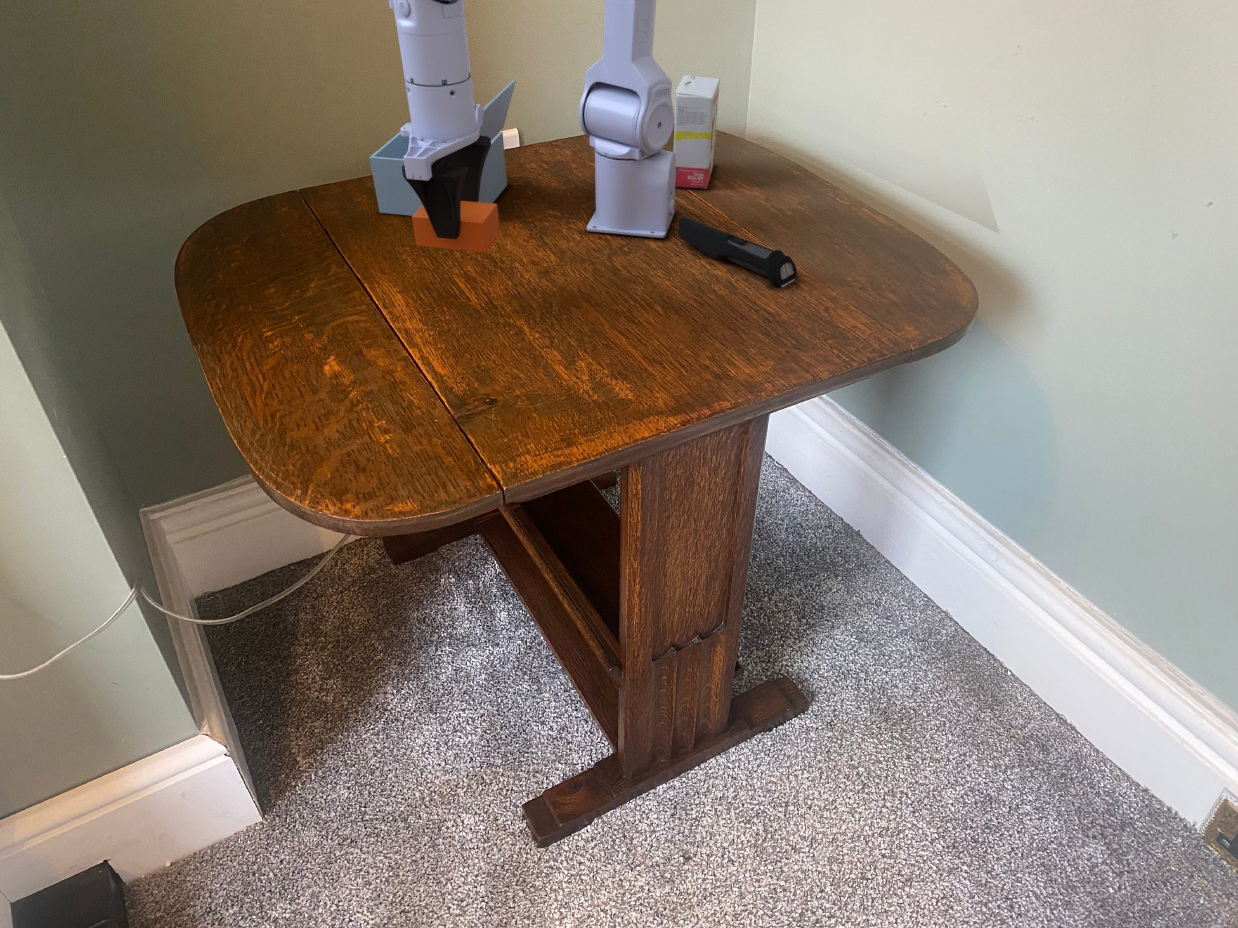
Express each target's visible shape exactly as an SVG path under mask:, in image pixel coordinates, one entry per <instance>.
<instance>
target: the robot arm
mask: <svg viewBox="0 0 1238 928" xmlns="http://www.w3.org/2000/svg"><path fill="white" fill-rule="evenodd" d="M388 4H389V5H388V6H389V9H390V10H392V12H393V14H394V18H395V19H394V20H395V25H396V31H397V38H398V44H399V51H400V57H401V64H402V71H403V72H402V73H403V78H404V84H405V90H406V97H407V103H408V110H409V118H410V122H406V123H405V124H404V125H402V126H401V127H400V130H399V131H401V136H403V137H409V138H410V139H409V147H408V152H407V153H406V155H405V156H404V157H403V159H404V165H403V166H402V173H403V177H404V179H405V180H406V181H407V182H408V183H409V184H410V186H411V187H412V188H413V190H414V191H415V192H416V194H417V195H418V197H419V199H420V200H421V202H422V204H423V206H424V208H425V211H426V213H427V215H428V217H429V220H430V222H431V225H432V227H433V229H434V232H435V234H436V236H437V237H438V238H448V239H457V238H458V237H459V233H460V224H461V201H469V202H478V201H479V192H480V183H481V176H482V171H483V167H484V163H485V160H486V157H487V154H488V152H489V149H490V147H491V139H490V138H489V137H487V136H480V131H479V128H480V127H481V126H482V125H483V118H482V109H483V108H482V104H480V103H475V98H474V88H473V80H472V79H473V78H472V71H471V61H470V50H469V41H468V31H467V22H466V13H465V12H466V11H465V3H464V0H388ZM656 10H657V0H604V17H603V18H604V19H603V46H602V56H601V57H600V58H599V59H598V60H597V61H596V62H595V63H593V64H592V65H591V66H589V67H588V68H587V70H586V71H585V73H584V74H585V76H584V80H585V81H584V87H583V91H582V95H581V97H580V101H579V104H578V121H579V126H580V128H581V131H582V132H583V133H584V134H585V135H586V136H587V137H588V138H589V146H590V147H592V148H594V185H595V188H594V189H595V190H594V191H595V193H594V194H595V211H594V213H593V215H592V216H591V218H590V220H589V221H588V224H587V225H586V231H587V232H591V233H593V232H594V233H603V234H614V235H623V236H624V235H625V236H634V237H645V238H646V237H647V238H656V239H664V238H665V237H666V235H667V233H668V231H669V229H670V225H671V223H672V220H673V218H674V215H675V212H676V209H675V208H676V202H675V197H676V187H675V178H676V155H675V153H674V152H673V151H671V150H666V149H664V147H665V146H666V144H668V142H669V140H670V138H671V136H672V134H673V130H674V127H675V109H674V104H673V100H672V99H673V98H672V88H673V82H672V80H671V78H670V76H668V75H667V73H666V72H665V71H664V69H663V68H662V67H661V66H660V65H659V64H658V63H657V61H656V60H655V58H654V57H653V54H654V53H653V52H654V38H655V26H656V25H655V24H656Z"/></svg>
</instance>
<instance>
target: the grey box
mask: <svg viewBox="0 0 1238 928" xmlns="http://www.w3.org/2000/svg"><path fill="white" fill-rule="evenodd" d="M409 139H410V138H409V137H403V136H401V130H399V132H398V133H396V134H395V135H394V136H392V138H391V139H390V140H388V141H387V142H386V143H385V144H384V145H383V146H381V147H380V148H379V149H377V151H375V152H374V153H373V154H371V155H370V156H369V158H368V159H369V164H370V170H371V174H372V179H373V183H374V191H375V195H376V201H377V206H378V211H379V213H380V214H389V215H401V216H411V217H412V216H413V215H414V214H415V213H416V212H417V211H418V210H419V208H420V207H421V206H422V205H423V204H422V202H421V200H420V199H419V197H418V195H417V194H416V192H415V191H414V190H413V188H412V187H411V186H410V184H409V183H408V182H407V181H406V180H405V179H404V177H403V173H402V166H403V165H404V159H403V157H404V156H405V155H406V153H407V152H408V147H409ZM504 144H505V143H504V132H503V131H500V132H499V133H498V134H497V135H496V136H495V137H494V138H493V139H492V140H491V147H490V149H489V152H488V154H487V157H486V160H485V163H484V167H483V171H482V176H481V183H480V192H479V201H478V202H481V203H492V204H494V202H495V201H496V200H497V198H498V197H499V196H500V195H501V193H502V192H503V191H504V189H505V188H507V186H508V180H507V167H506V166H507V165H506V155H505V145H504Z"/></svg>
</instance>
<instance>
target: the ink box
mask: <svg viewBox="0 0 1238 928" xmlns="http://www.w3.org/2000/svg"><path fill="white" fill-rule="evenodd" d="M720 84H721V78H718V77H709V76H702V75H701V76H699V75H690V74H685V75H684V76H682V78H681V81H680V82H679V84H678V86H677V88H676V90H675V109H674V126H673V130H674V132H673V147H672V148H673V149H672V150H673V151H672V152H674V153H675V155H676V178H675V188H687V189H689V188H690V189H702V190H703V189H704V190H707V189H708V186H709V183H710V179H711V175H712V171H713V168H714V157H715V144H716V132H717V120H718V119H717V118H718V109H719V108H718V105H719V95H720V94H719V93H720Z"/></svg>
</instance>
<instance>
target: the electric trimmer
mask: <svg viewBox="0 0 1238 928" xmlns="http://www.w3.org/2000/svg"><path fill="white" fill-rule="evenodd" d="M677 229H678V232H677V233H678V237H679V238H680V239H681V240H682V241H684V242H686V243H688V244H689V245H690V246H693V247H695V248H696V249H698V250H699V251H702V253H705V254H706V255H708V256H710V257H712V258H713V259H716V260H728V261H730V262H732V263H735V264H737V265H739V266H741V267H743V268H746V269H748V270H751V271H753V272H755V273H757V274H759V275H761V276H764V277H766V278H768V279H769V282H770V284H771V285H772V286H773V287H776V286H781V287H780V288H784V287H786V286H787V285H789V284H791V283H793V282H795V279H796V278H797V276H798V271H797V267H796V264H795V263H794V261H793V259H792V258H791V256H790V255H785V253H784V252H783V251H782V250H780V249H774V250H773V249H771V248H768V247H765V246H763V245H760V244H758V243H756V242H752V241H750V240H748V239H745V238H742V237H740V236H737V235H734V234H732V233H730V232H727V231H724V230H721V229H718V228H715V227H713V226H710V225H708V224H704V223H701V222H700V221H696V220H694V219H692V218H688V217H684V216H682V217H680V218H679V220H678V227H677Z"/></svg>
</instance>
